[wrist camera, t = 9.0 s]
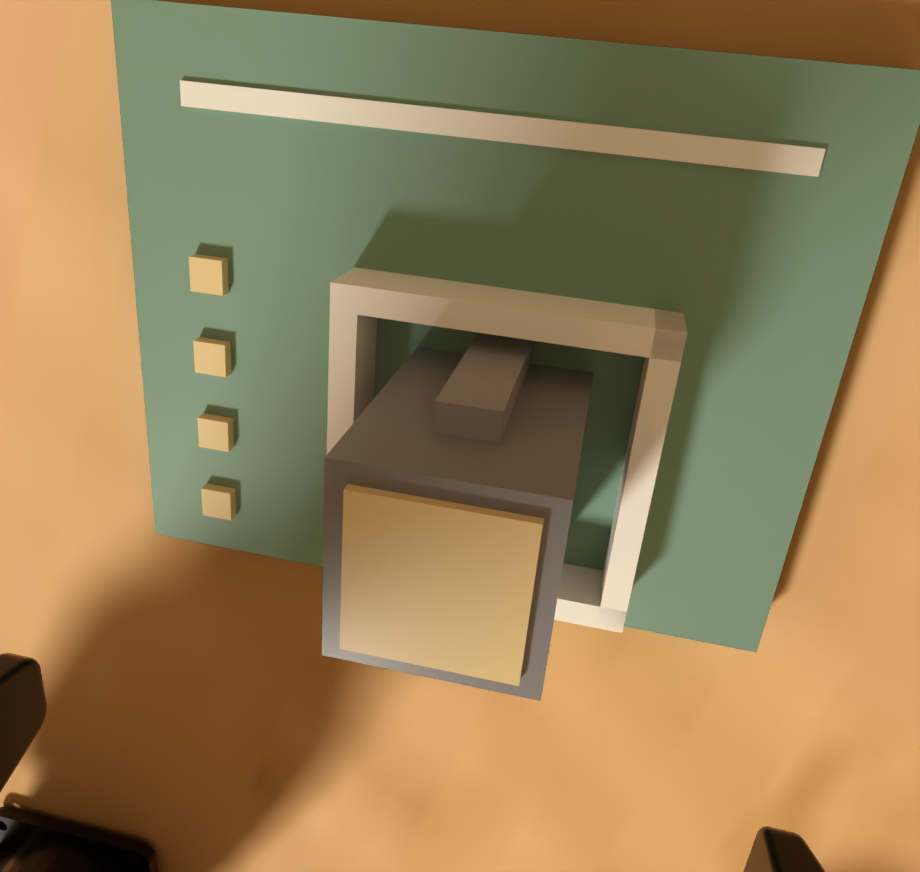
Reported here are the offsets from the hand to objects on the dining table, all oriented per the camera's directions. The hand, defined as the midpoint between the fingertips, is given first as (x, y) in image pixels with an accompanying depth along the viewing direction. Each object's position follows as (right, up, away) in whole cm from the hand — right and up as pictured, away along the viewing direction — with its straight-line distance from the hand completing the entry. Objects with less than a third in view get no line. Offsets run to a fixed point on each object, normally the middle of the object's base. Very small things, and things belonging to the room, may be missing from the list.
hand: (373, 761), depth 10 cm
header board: (+1, +6, +9) cm, 11 cm away
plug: (+2, +4, +9) cm, 10 cm away
